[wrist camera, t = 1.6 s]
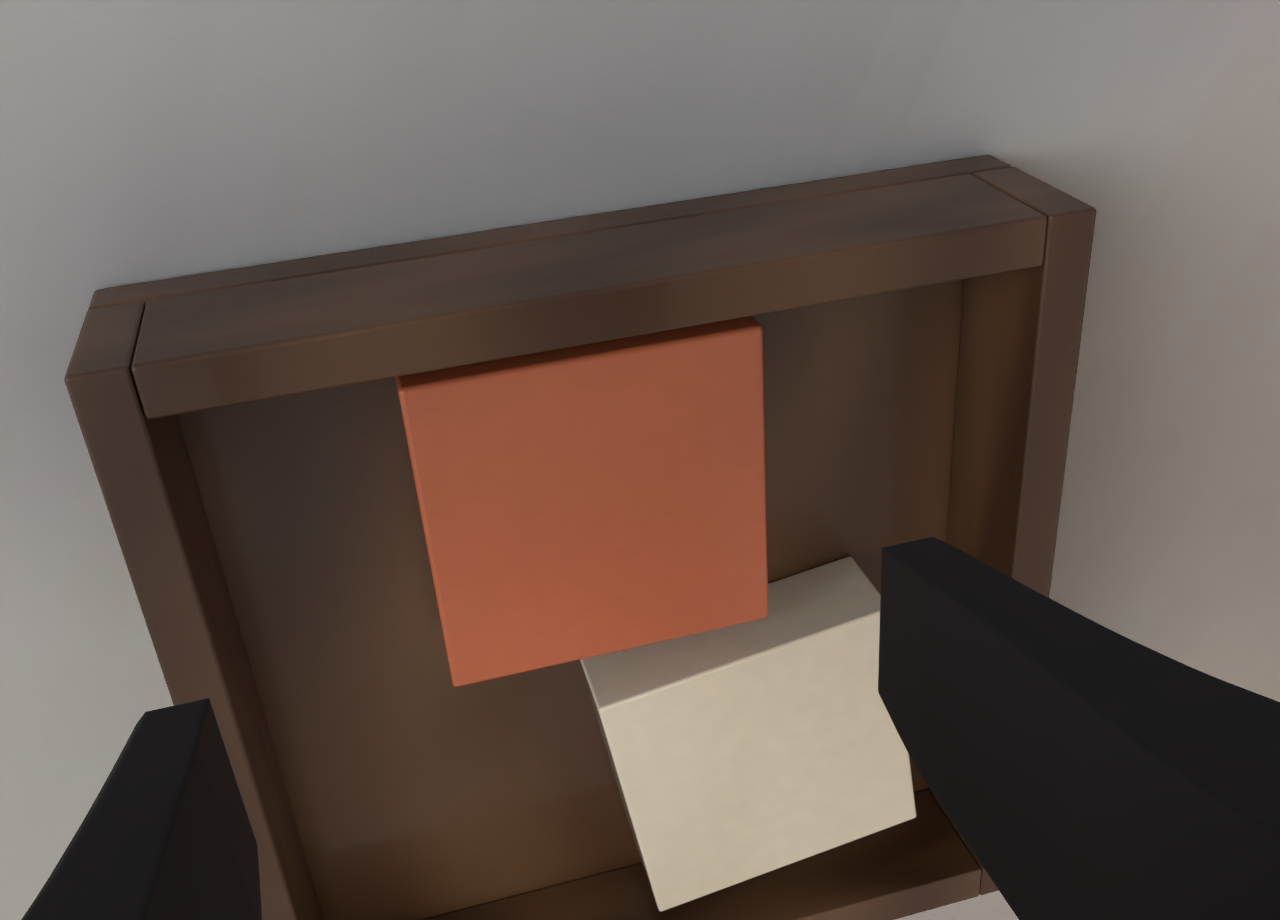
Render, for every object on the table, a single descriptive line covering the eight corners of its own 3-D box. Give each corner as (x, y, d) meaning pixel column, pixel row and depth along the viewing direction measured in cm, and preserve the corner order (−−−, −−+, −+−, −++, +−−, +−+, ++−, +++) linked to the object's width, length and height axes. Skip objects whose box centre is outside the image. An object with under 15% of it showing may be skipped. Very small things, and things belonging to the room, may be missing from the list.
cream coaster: (851, 553, 23) (892, 607, 22) (879, 758, 26) (918, 818, 25) (575, 647, 23) (597, 710, 21) (636, 846, 25) (659, 914, 24)
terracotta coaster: (726, 285, 20) (764, 325, 18) (736, 563, 23) (770, 619, 21) (386, 341, 19) (397, 390, 17) (440, 626, 22) (452, 690, 20)
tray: (990, 153, 21) (1098, 208, 18) (942, 781, 28) (1014, 886, 25) (93, 288, 18) (61, 378, 15) (297, 947, 25) (300, 1086, 23)
